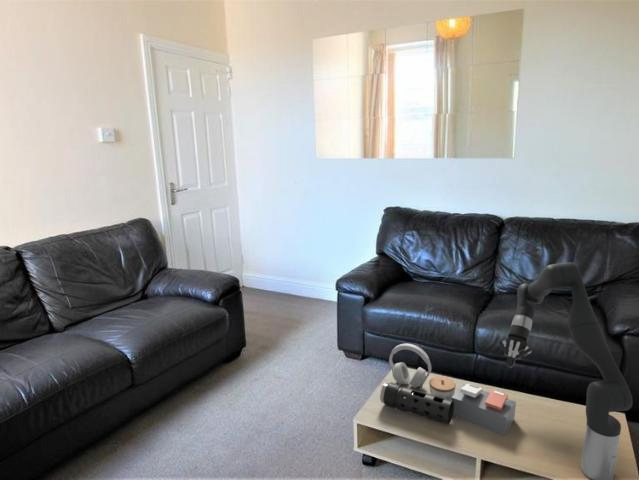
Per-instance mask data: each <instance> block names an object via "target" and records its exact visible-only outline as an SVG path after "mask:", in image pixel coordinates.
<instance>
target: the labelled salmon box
mask: <svg viewBox="0 0 639 480" xmlns="http://www.w3.org/2000/svg"><path fill="white" fill-rule="evenodd" d="M489 393H490V394H489V396H488V398H487V399H486V401H485V405H486V406H489V407H491V408H494V409H497V410H500V411H501V410H502V408H503V406H504V404H505V402H506V400H507V399H509V393H507V392H502V391H500V390H497V389H495V388H492V389H491V390H490V392H489Z"/></svg>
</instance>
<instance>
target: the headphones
mask: <svg viewBox="0 0 639 480" xmlns="http://www.w3.org/2000/svg"><path fill="white" fill-rule="evenodd" d="M402 350H408V351H412V352H414V353H416V354H417V355H419V357H420V358H421V359H422V360H423V361H424V362H425V363H426V365H427V369H428V371H427V374H426V369H424V368H422V367H420V366H419V367H418V368H417V370H416V371H415V373H414V374H413V376H412V378H411V380H410V371H409V369H408V366H407V364H406V363H405V362H401V361H400V362H397V363H395V364H394V362H393V357H394V355H395V354H397V353H398V352H399V351H402ZM388 363H389V367H390V369H391V372H392V377H393V379H394V380H395V382H396V384H398V385H400V386H401V385H407V384H409V386H411V387H412V388H414V389H415V388H419V390H421V389H422V387H423V386H424V385H425V382H426V381H427V379H428V378H429V376H430V374H431V372H432V363H431V360H430V357H429V355H428V354H427V353H426V351H424V349H422V348H421V347H420V346H418V345H415V344H412V343H407V342H406V343H401V344H398V345H396V346H395V347H394V348H392V350H391V352H390V354H389V359H388Z"/></svg>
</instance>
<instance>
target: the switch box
mask: <svg viewBox="0 0 639 480" xmlns="http://www.w3.org/2000/svg"><path fill="white" fill-rule="evenodd" d="M465 385H466V383H463V384H462V385H461V386H460V387H459V388H458V389H457V391H455V393H454V395H453V396H452V399H451V401H453V402H454V411H453V416H452V417H456V418H458V419H461V420H463V421H466V422H468V423H471V424H473V425H476V426H478V427H480V428H483V429H485V430H488V431H490V432H491V431H492V432H493V433H496V434H499V435H500V436H503V437H505V436H506V434H507V433H508V431H509V429H510V428H511V426H512V425H513V423H514V421H515V417H516V406H517V401H514V400H512V399H510V398H507V400H506V402H505V404H504V406H503V408H502V410H501V411H500V410H497V409H494V408H491V407H489V406H486V405H485V401H486V399H487V398H488V396H489V394H490V392H488V391H485V390H483V389H482V393H480V394H479V395H478V396H477V397H475V398H474V397H472V396H469V395H466V394H463V393H460V390H461V388H462V387H464V386H465Z"/></svg>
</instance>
